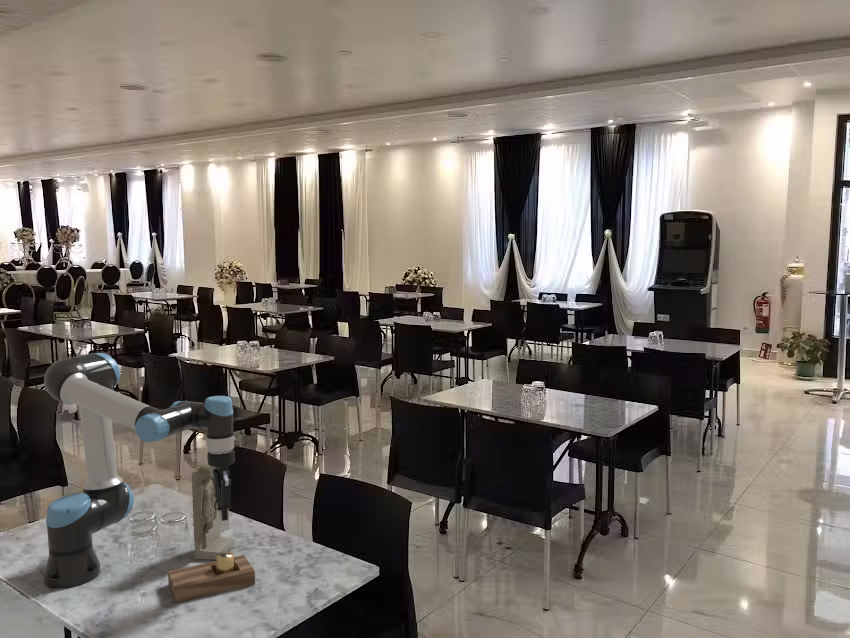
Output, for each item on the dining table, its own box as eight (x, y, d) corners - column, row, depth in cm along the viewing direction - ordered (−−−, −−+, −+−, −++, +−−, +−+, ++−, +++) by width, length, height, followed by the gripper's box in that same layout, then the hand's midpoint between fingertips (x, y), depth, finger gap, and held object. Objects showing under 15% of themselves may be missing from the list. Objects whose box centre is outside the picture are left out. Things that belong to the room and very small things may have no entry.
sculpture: (213, 564, 216) (209, 469, 213) (189, 562, 217) (185, 468, 214) (235, 544, 230) (232, 455, 227) (213, 542, 232) (209, 454, 229)
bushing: (215, 579, 206) (214, 553, 205) (232, 575, 208) (231, 549, 207) (218, 586, 202) (217, 559, 201) (236, 582, 204) (235, 556, 203)
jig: (168, 584, 203) (167, 571, 203) (244, 567, 214) (243, 554, 213) (175, 602, 193) (175, 589, 192) (255, 583, 203) (254, 570, 203)
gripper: (239, 454, 197) (243, 534, 199) (228, 443, 208) (231, 519, 211) (212, 458, 193) (216, 540, 196) (202, 446, 205) (206, 524, 207)
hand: (224, 529), depth 203 cm, fingers closed
